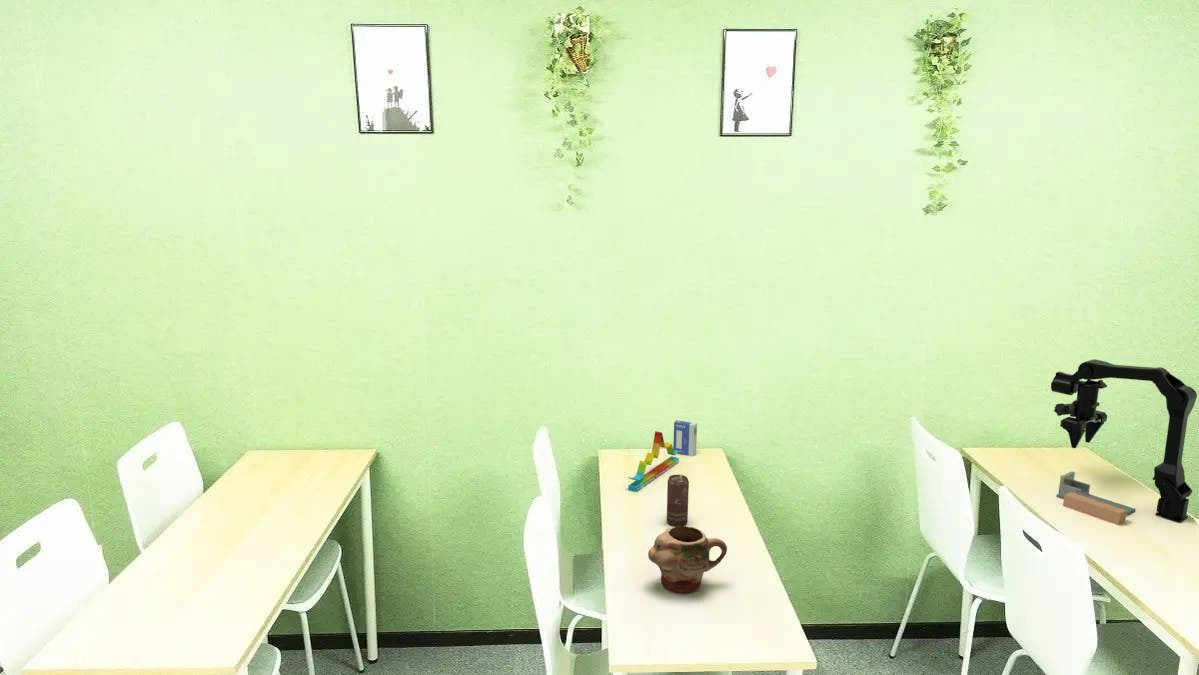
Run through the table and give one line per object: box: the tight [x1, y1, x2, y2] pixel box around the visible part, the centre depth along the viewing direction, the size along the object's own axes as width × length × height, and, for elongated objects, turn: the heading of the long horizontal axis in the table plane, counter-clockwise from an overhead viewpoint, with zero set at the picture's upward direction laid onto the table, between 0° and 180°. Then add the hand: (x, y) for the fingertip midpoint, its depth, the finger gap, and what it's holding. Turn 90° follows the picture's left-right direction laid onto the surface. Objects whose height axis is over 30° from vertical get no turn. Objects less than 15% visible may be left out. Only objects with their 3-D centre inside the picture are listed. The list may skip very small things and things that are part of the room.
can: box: [666, 474, 690, 527], centre depth 237 cm, size 6×6×14 cm
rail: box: [1062, 492, 1127, 526], centre depth 246 cm, size 16×4×4 cm, turn 34°
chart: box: [627, 431, 680, 493], centre depth 271 cm, size 30×3×15 cm, turn 148°
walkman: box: [672, 419, 698, 457], centre depth 292 cm, size 8×3×12 cm, turn 64°
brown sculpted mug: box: [647, 525, 728, 595], centre depth 203 cm, size 20×12×14 cm, turn 104°
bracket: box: [1057, 471, 1091, 496], centre depth 257 cm, size 6×7×6 cm
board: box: [1056, 493, 1136, 517], centre depth 253 cm, size 19×9×1 cm, turn 36°
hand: (1080, 445), depth 263 cm, fingers open, 9 cm apart
